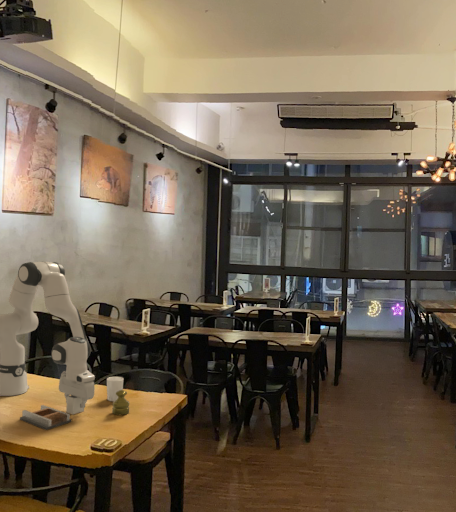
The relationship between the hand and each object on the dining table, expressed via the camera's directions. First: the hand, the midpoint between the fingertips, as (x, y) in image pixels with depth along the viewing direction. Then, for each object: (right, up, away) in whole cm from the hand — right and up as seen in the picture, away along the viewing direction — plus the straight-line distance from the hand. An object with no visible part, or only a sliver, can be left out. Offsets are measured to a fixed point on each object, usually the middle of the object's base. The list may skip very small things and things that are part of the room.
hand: (75, 405), depth 214 cm
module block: (0, -3, 0) cm, 3 cm away
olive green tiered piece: (+20, -4, +1) cm, 20 cm away
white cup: (+13, -3, +19) cm, 23 cm away
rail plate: (-9, -3, -12) cm, 15 cm away
